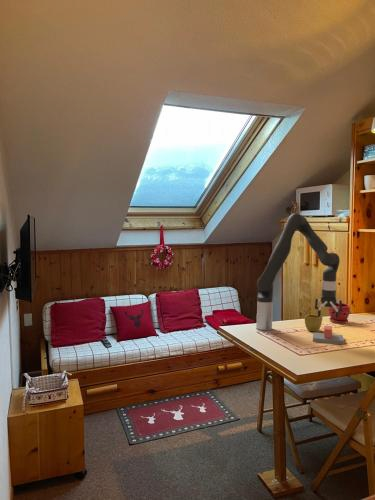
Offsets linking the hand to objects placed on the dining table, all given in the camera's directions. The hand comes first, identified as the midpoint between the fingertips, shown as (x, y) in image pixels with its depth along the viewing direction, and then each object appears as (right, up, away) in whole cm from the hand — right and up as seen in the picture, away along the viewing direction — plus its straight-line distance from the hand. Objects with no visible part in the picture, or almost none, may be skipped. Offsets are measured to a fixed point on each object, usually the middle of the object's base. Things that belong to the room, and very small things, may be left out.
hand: (327, 317), depth 223 cm
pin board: (0, -13, +1) cm, 13 cm away
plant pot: (+22, -11, +42) cm, 49 cm away
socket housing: (0, -11, +1) cm, 11 cm away
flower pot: (-1, -12, +22) cm, 25 cm away
